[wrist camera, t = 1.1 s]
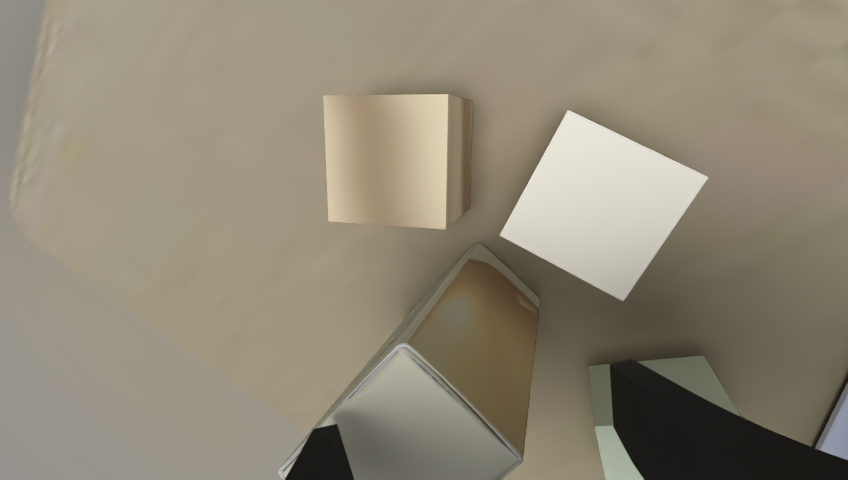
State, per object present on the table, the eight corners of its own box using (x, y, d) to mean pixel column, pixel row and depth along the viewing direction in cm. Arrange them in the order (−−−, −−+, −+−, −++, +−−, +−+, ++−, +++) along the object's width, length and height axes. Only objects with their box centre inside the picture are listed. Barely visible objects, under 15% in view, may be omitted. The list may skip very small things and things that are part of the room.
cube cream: (674, 165, 20) (708, 177, 15) (610, 263, 22) (623, 301, 17) (566, 113, 21) (567, 109, 16) (512, 212, 22) (499, 235, 18)
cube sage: (703, 354, 21) (742, 419, 17) (718, 451, 22) (759, 539, 17) (588, 365, 23) (594, 426, 18) (606, 455, 24) (617, 536, 19)
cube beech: (473, 101, 22) (448, 94, 17) (470, 208, 23) (445, 229, 18) (372, 101, 23) (323, 95, 18) (374, 202, 24) (328, 221, 19)
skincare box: (461, 375, 25) (375, 586, 13) (401, 318, 25) (266, 479, 14) (548, 295, 23) (532, 467, 11) (481, 234, 23) (398, 342, 11)
